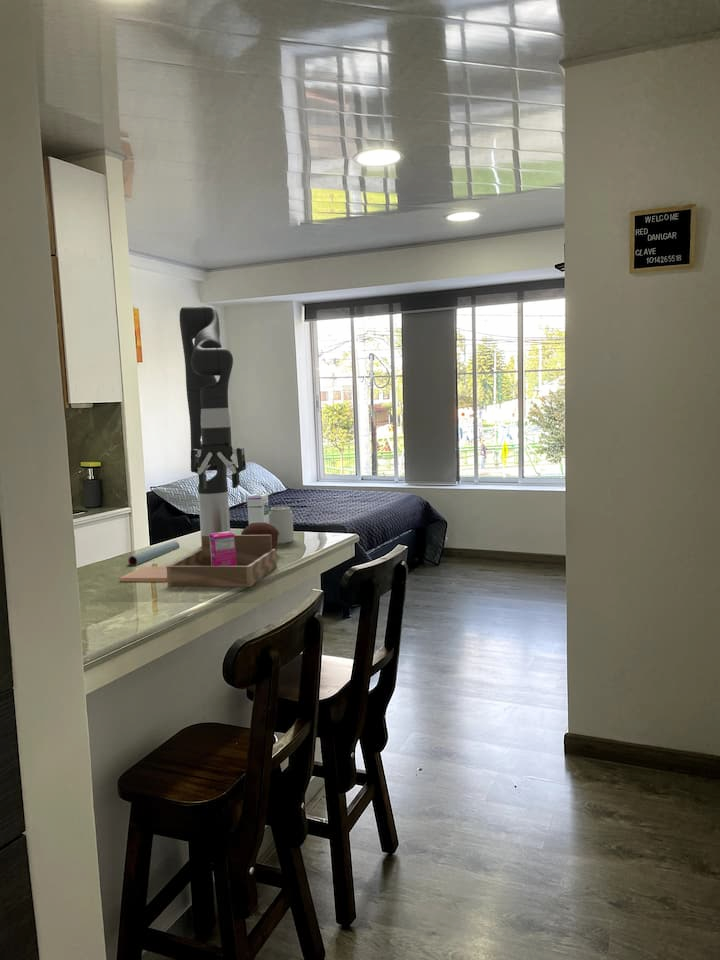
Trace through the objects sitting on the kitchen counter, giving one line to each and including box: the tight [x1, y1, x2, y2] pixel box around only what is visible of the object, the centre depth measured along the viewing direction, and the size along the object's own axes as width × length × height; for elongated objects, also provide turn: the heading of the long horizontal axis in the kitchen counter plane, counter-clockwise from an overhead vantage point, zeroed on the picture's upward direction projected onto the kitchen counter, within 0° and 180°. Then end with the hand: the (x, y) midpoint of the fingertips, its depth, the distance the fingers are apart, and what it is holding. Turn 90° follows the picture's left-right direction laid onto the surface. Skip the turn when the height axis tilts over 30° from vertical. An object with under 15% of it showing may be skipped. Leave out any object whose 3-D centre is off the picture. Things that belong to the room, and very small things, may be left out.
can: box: [269, 506, 295, 544], centre depth 239 cm, size 8×8×12 cm
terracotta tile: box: [119, 566, 168, 583], centre depth 200 cm, size 13×13×1 cm
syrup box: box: [246, 493, 270, 525], centre depth 254 cm, size 6×6×14 cm
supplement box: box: [209, 530, 237, 566], centre depth 196 cm, size 6×6×12 cm
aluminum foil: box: [127, 540, 180, 566], centre depth 225 cm, size 23×7×3 cm, turn 162°
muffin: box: [240, 522, 280, 551], centre depth 220 cm, size 12×11×10 cm
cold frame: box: [166, 534, 278, 588], centre depth 196 cm, size 22×22×9 cm
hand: (219, 488), depth 194 cm, fingers open, 8 cm apart
